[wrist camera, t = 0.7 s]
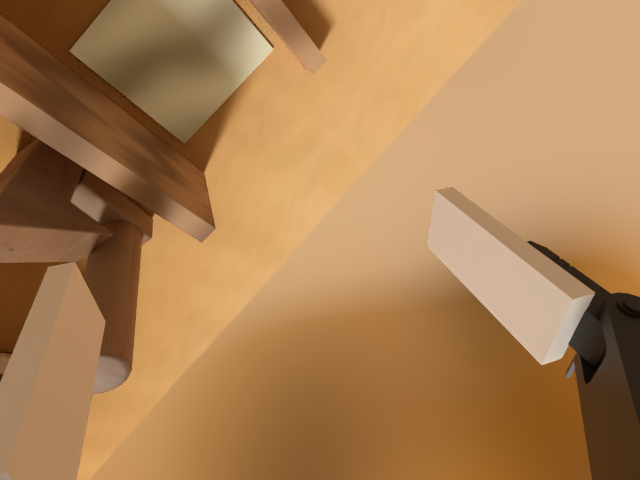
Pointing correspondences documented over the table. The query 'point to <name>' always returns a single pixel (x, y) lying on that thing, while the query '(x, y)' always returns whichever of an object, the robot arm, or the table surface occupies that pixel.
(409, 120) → the table surface
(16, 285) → the table surface
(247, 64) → the wall board
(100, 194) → the wooden block
